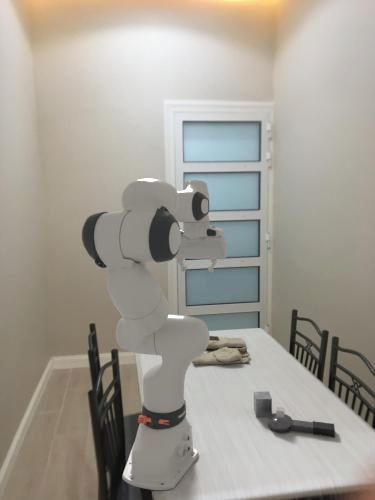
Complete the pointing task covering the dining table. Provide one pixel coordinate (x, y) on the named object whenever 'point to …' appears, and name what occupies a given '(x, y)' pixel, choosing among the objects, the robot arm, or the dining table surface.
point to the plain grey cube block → (262, 404)
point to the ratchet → (298, 425)
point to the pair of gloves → (224, 351)
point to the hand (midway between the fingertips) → (197, 271)
